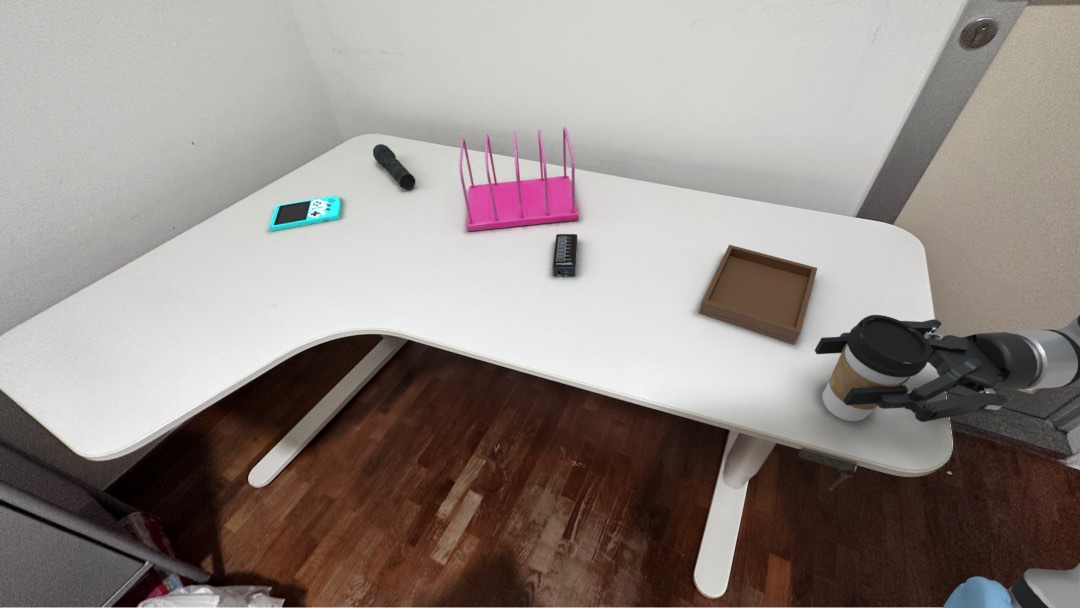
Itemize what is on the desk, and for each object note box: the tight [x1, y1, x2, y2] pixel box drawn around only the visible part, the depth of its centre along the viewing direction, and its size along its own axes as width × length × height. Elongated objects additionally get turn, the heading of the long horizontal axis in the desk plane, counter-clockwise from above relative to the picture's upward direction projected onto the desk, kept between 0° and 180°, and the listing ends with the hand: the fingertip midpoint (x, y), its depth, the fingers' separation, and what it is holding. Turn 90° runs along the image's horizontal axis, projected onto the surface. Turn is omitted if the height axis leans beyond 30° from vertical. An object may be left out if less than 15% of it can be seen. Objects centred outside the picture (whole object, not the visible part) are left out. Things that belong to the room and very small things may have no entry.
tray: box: [698, 244, 818, 345], centre depth 81 cm, size 18×16×3 cm
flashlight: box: [372, 143, 417, 191], centre depth 121 cm, size 5×21×5 cm, turn 33°
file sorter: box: [458, 126, 579, 232], centre depth 103 cm, size 17×25×16 cm
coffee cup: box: [821, 314, 931, 422], centre depth 61 cm, size 8×8×15 cm
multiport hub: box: [552, 233, 578, 278], centre depth 93 cm, size 4×11×2 cm, turn 175°
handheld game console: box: [268, 195, 342, 232], centre depth 111 cm, size 10×16×1 cm, turn 103°
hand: (833, 370), depth 60 cm, fingers closed on coffee cup, 8 cm apart
